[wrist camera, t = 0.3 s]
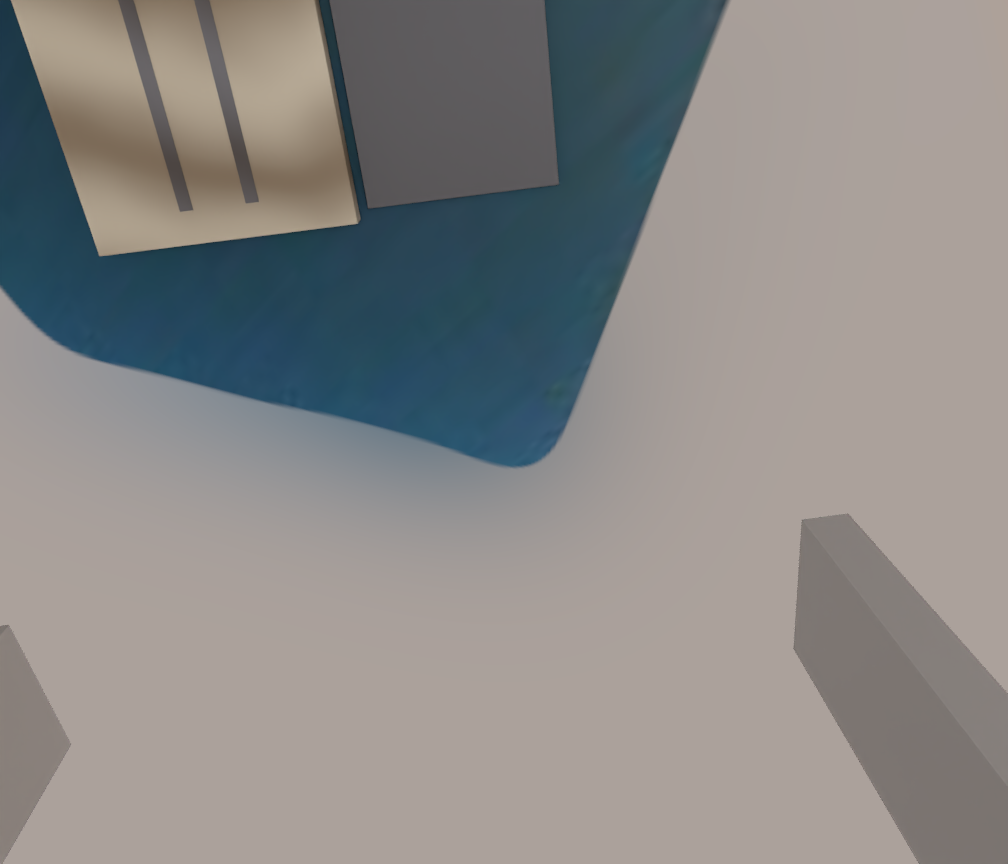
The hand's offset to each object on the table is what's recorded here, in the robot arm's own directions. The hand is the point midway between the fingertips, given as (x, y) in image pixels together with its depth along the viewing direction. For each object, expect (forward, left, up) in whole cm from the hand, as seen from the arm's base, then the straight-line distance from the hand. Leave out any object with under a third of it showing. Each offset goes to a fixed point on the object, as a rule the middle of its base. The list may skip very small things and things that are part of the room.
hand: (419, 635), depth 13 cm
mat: (-9, +1, -27) cm, 28 cm away
